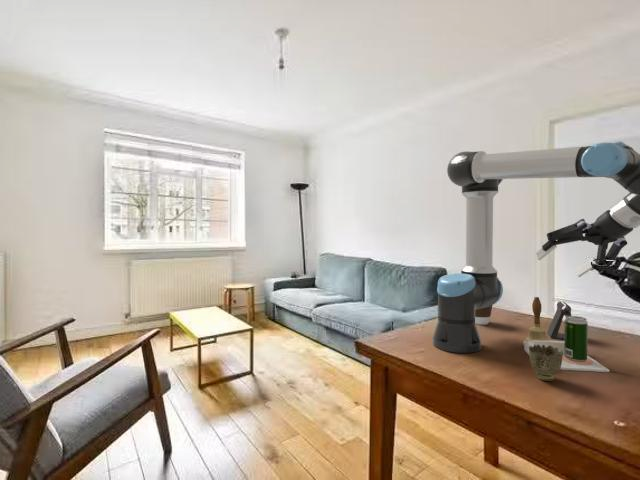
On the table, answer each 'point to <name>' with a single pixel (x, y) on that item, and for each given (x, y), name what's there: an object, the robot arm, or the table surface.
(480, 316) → the coffee cup
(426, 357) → the table surface
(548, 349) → the cup
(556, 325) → the phone stand
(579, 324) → the beer can
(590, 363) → the tray
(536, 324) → the hand bell
